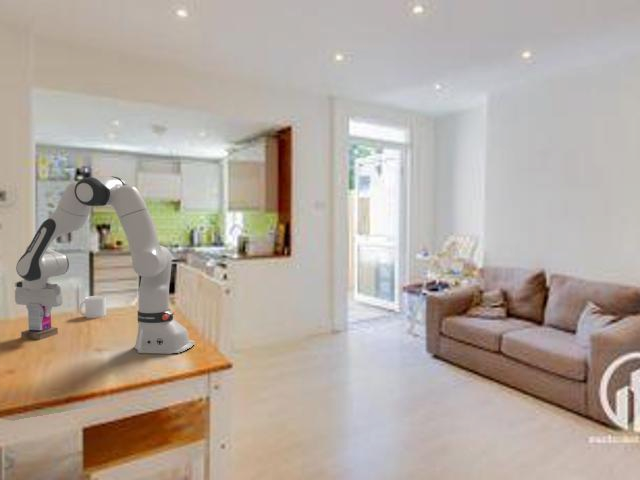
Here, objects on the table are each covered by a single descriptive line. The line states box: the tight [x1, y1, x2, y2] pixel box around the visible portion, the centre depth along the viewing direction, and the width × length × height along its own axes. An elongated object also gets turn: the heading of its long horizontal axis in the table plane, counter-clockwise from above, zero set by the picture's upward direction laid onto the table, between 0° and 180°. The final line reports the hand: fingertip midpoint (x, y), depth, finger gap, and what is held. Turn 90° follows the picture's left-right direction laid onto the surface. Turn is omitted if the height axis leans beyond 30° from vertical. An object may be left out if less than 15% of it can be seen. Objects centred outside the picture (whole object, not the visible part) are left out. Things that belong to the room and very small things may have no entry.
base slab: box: [20, 326, 59, 340], centre depth 179 cm, size 9×9×2 cm
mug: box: [78, 295, 107, 319], centre depth 212 cm, size 12×9×9 cm
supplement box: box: [27, 303, 52, 331], centre depth 179 cm, size 6×6×12 cm
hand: (39, 315), depth 179 cm, fingers closed on supplement box, 6 cm apart
